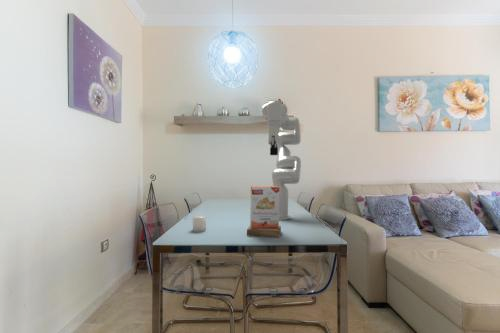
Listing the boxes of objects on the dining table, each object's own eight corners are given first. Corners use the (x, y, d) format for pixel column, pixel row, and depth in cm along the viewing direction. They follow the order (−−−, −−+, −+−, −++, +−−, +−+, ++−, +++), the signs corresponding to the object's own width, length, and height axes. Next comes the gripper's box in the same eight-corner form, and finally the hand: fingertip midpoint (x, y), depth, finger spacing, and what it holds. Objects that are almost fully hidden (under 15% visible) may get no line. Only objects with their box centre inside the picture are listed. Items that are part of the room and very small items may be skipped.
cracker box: (251, 228, 150) (251, 186, 149) (250, 226, 156) (250, 185, 155) (279, 228, 151) (279, 186, 150) (276, 225, 157) (277, 185, 156)
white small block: (195, 228, 164) (195, 215, 164) (207, 228, 163) (207, 215, 163) (190, 231, 157) (190, 218, 157) (203, 231, 156) (203, 218, 156)
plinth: (250, 230, 160) (250, 224, 160) (280, 231, 157) (281, 225, 157) (246, 235, 149) (246, 229, 149) (279, 237, 146) (279, 230, 146)
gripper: (269, 125, 176) (269, 155, 177) (265, 122, 159) (265, 155, 160) (282, 125, 175) (282, 155, 176) (279, 122, 158) (279, 155, 159)
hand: (274, 155), depth 168 cm, fingers open, 9 cm apart
